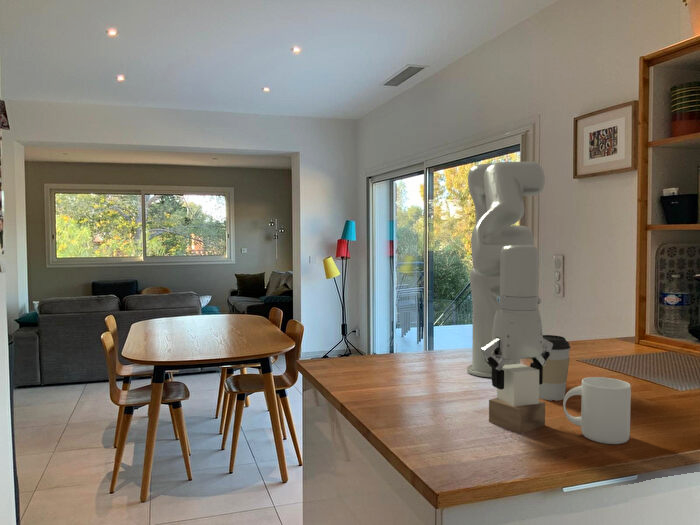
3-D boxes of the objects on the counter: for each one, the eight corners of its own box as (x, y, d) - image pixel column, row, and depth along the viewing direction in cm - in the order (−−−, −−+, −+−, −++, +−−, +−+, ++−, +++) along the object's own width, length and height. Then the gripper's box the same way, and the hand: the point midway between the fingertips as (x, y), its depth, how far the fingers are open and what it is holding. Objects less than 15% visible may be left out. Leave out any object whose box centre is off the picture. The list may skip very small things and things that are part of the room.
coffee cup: (568, 393, 133) (569, 333, 132) (571, 403, 124) (572, 340, 124) (530, 389, 136) (531, 331, 135) (530, 399, 127) (531, 337, 127)
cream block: (521, 395, 115) (521, 363, 114) (538, 403, 109) (539, 370, 109) (496, 398, 113) (497, 365, 112) (513, 406, 107) (514, 372, 107)
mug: (565, 423, 111) (566, 372, 110) (630, 433, 105) (631, 380, 105) (559, 437, 103) (560, 382, 103) (629, 448, 97) (630, 391, 97)
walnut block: (513, 415, 116) (513, 393, 116) (545, 426, 110) (545, 402, 110) (488, 423, 112) (489, 399, 112) (520, 434, 105) (520, 409, 105)
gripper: (539, 300, 116) (538, 376, 117) (472, 304, 110) (471, 384, 111) (564, 304, 109) (563, 385, 110) (494, 308, 103) (493, 394, 104)
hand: (517, 385), depth 111 cm, fingers open, 9 cm apart
